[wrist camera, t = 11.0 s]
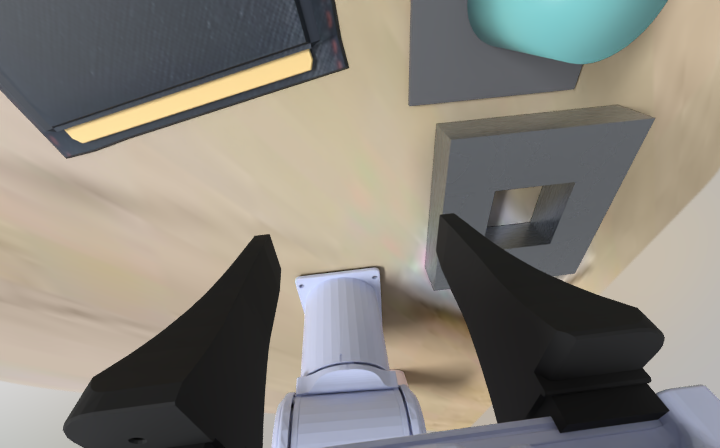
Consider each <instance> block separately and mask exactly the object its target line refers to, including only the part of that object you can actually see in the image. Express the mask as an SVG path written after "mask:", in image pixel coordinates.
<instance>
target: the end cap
mask: <svg viewBox="0 0 720 448" xmlns="http://www.w3.org/2000/svg"><path fill="white" fill-rule="evenodd" d="M667 1H668V0H468V1H467V10H468V18H469V22H470V25H471V27H472V29H473V31H474V33H475V34H476V36H477V37H478V38H479V39H480V40H481V41H483V42H484V43H486V44H488V45H491V46H495V47H499V48H504V49H508V50H513V51H517V52H522V53H526V54H531V55H536V56H540V57H545V58H549V59H554V60H558V61H563V62H567V63H573V64H588V63H593V62H597V61H600V60H603V59H605V58H607V57H610V56H612V55H613V54H615V53H617V52H619V51H620V50H622V49H623V48H625V47H626V46H628V45H629V44H630V43H631V42H632V41H634V40H635V39H636V38H637V37H638V36H639V35H640V34H641V33H642V32H644V30H645V29H646V28H647V27H648V26H649V25H650V24H651V23H652V22H653V20H654V19H655V18H656V17H657V15H658V14H659V13H660V11H661V10H662V8H663V7H664V5H665V4H666V2H667Z"/></svg>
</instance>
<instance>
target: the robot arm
mask: <svg viewBox="0 0 720 448" xmlns="http://www.w3.org/2000/svg"><path fill="white" fill-rule="evenodd" d="M436 253H437V256H438V260H439V263H440V266H441V269H442V272H443V274H444V276H445V278H446V280H447V282H448V285H449V287H450V289H451V291H452V293H453V295H454V297H455V299H456V301H457V304H458V306H459V308H460V310H461V312H462V314H463V316H464V319H465V321H466V324H467V326H468V329H469V332H470V335H471V338H472V341H473V343H474V346H475V349H476V353H477V356H478V359H479V362H480V365H481V368H482V371H483V374H484V378H485V381H486V384H487V388H488V391H489V394H490V398H491V401H492V405H493V408H494V412H495V416H496V419H497V423H498V424H491V425H484V426H476V427H469V428H461V429H454V430H447V431H439V432H432V433H426V428H425V423H424V418H423V414H422V411H421V407H420V405H419V402H418V400H417V397H416V396H415V394H414V393H413V392H412V391H411V390H410V389H409V388H408V386H407V385H405V384H402V385H398V382H397V377H396V372H395V371H390V369H389V363H388V357H387V352H386V346H385V340H384V334H383V329H382V309H381V288H380V272H379V269H378V268H366V269H357V270H349V271H340V272H332V273H324V274H315V275H307V276H299V277H297V278H296V279H295V284H296V287H297V290H298V294H299V297H300V300H301V304H302V307H303V310H304V314H305V320H304V335H303V350H302V365H301V377H298V378H297V385H296V393H295V392H290V393H287V394H286V395H285V398H284V399H283V400H282V401H281V402H280V403H279V405H278V408H277V412H276V417H275V423H274V430H273V439H272V448H720V400H719V399H718V398H717V397H716V396H715V395H714V394H713V393H712V392H711V391H710V390H709V389H708V388H707V387H706V386H704V385H694V386H688V387H679V388H672V389H667V390H663V391H661V392H658V393H656V394H655V392H654V391H653V390H652V389H651V388H650V387H649V385H648V384H647V383H649V382H651V377H650V376H649V375H648V374H647V373H646V372H645V370H644V369H643V367H644V366H645V365H646V364H647V362H648V361H649V360H651V359H652V358H653V357H654V355H655V354H656V353H657V352H658V351H659V350H660V349H661V347H662V346H663V342H664V338H665V337H664V335H663V333H662V332H661V331H660V330H659V329H658V328H657V327H656V326H655V325H654V324H653V323H652V322H651V321H650V320H649V319H648V318H647V317H646V316H645V315H644V314H643V313H642V312H641V311H640V310H639V309H638V308H635V307H633V306H630V305H626V304H623V303H620V302H617V301H614V300H611V299H608V298H605V297H602V296H599V295H596V294H594V293H591V292H589V291H586V290H583V289H581V288H578V287H576V286H573V285H571V284H569V283H566V282H564V281H562V280H559V279H557V278H555V277H553V276H551V275H549V274H546V273H544V272H542V271H540V270H538V269H536V268H534V267H533V266H531V265H529V264H527V263H525V262H524V261H522V260H520V259H518V258H517V257H515V256H513V255H512V254H510V253H508V252H507V251H505V250H504V249H502V248H501V247H499V246H498V245H496V244H495V243H493V242H492V241H490V240H489V239H488V238H486V237H485V236H483V235H482V234H481V233H479V232H478V231H477V230H475V229H474V228H473V227H472V226H470V225H469V224H468V223H466V222H465V221H464V220H462V219H461V218H460V217H459V216H457V215H456V214H454V213H450V214H441V215H440V216H439V225H438V235H437V244H436ZM280 280H281V267H280V264H279V261H278V258H277V255H276V252H275V249H274V246H273V243H272V240H271V237H270V234H267V235H258V236H254V238H253V239H252V240H251V241H250V243H249V244H248V245H247V246H246V248H245V249H244V250H243V251H242V253H241V254H240V255H239V256H238V258H237V259H236V260H235V261H234V263H233V264H232V265H231V266H230V267H229V269H228V270H227V271H226V272H225V273H224V274H223V276H222V277H221V278H220V279H219V280H218V281H217V282H216V283H215V284H214V285H213V287H212V288H211V289H210V290H209V291H208V292H207V293H206V294H205V295H204V296H203V297H202V298H201V299H200V300H198V301H197V302H196V303H195V304H194V305H193V306H192V307H191V308H190V309H189V310H188V311H186V312H185V313H184V314H183V315H182V316H180V317H179V318H178V319H177V320H175V321H174V322H173V323H172V324H171V325H169V326H168V327H167V328H166V329H164V330H163V331H162V332H160V333H159V334H158V335H156V336H155V337H154V338H152V339H151V340H150V341H148V342H147V343H145V344H144V345H142V346H141V347H140V348H138V349H137V350H135V351H134V352H132V353H131V354H129V355H128V356H126V357H125V358H123V359H122V360H120V361H118V362H117V363H115V364H114V365H112V366H110V367H109V368H107V369H106V370H104V371H102V372H101V373H99V374H98V375H96V376H94V377H93V378H92V380H91V381H90V383H89V384H88V386H87V387H86V389H85V391H84V392H83V394H82V396H81V398H80V399H79V401H78V402H77V404H76V405H75V407H74V409H73V410H72V412H71V413H70V415H69V417H68V418H67V420H66V421H65V423H64V426H63V431H64V433H65V435H66V436H67V438H69V439H70V440H71V441H73V442H74V443H76V444H78V445H80V446H82V447H84V448H262V447H263V419H264V400H265V385H266V372H267V361H268V350H269V343H270V337H271V332H272V327H273V322H274V317H275V312H276V307H277V302H278V297H279V292H280ZM301 284H302V285H301Z"/></svg>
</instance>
